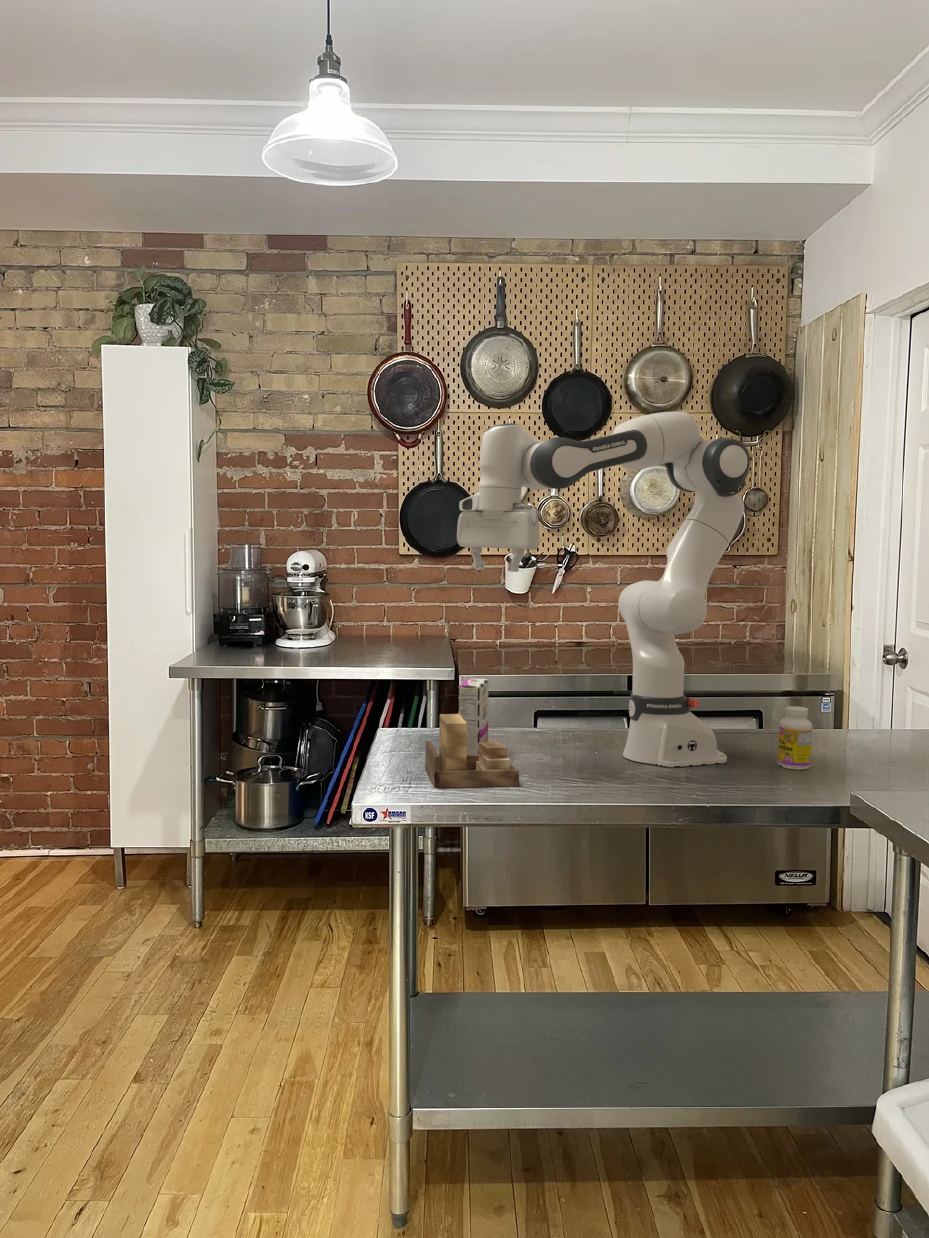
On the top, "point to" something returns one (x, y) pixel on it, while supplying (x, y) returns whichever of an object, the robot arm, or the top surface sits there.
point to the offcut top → (492, 749)
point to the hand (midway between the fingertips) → (495, 570)
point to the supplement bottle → (795, 738)
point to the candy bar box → (474, 711)
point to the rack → (467, 773)
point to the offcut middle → (494, 763)
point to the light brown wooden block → (452, 742)
